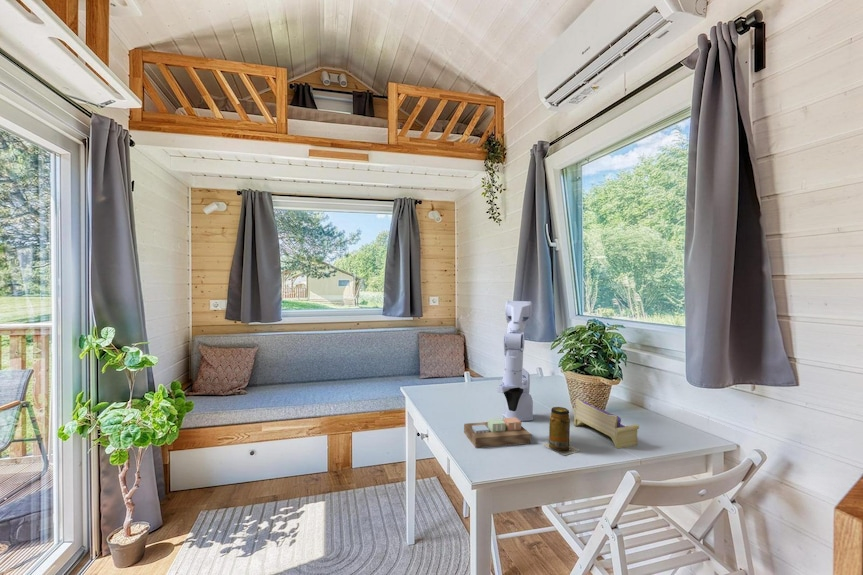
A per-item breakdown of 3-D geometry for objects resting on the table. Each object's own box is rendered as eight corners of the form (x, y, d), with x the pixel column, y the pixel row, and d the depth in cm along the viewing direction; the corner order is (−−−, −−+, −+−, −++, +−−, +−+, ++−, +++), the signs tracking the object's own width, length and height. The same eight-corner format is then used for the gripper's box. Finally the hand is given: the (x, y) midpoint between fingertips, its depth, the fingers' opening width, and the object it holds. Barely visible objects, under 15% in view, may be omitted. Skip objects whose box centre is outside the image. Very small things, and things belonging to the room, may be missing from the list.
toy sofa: (639, 446, 126) (640, 414, 126) (618, 450, 123) (619, 417, 123) (591, 422, 146) (592, 395, 146) (572, 425, 143) (573, 397, 143)
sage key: (500, 428, 133) (500, 418, 133) (505, 433, 129) (505, 423, 129) (487, 429, 132) (487, 419, 132) (492, 434, 128) (492, 424, 128)
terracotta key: (515, 427, 135) (515, 417, 134) (521, 432, 130) (521, 422, 130) (503, 428, 134) (503, 418, 133) (508, 433, 129) (508, 423, 129)
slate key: (484, 434, 132) (484, 424, 132) (489, 440, 128) (489, 429, 128) (471, 435, 131) (471, 425, 131) (476, 441, 127) (476, 430, 127)
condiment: (558, 440, 129) (559, 404, 129) (580, 450, 122) (581, 412, 122) (542, 445, 125) (543, 407, 125) (564, 456, 118) (565, 416, 118)
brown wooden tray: (514, 428, 139) (514, 420, 139) (530, 443, 127) (530, 433, 127) (463, 432, 135) (464, 423, 135) (475, 447, 123) (475, 438, 123)
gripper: (515, 364, 139) (514, 402, 140) (490, 370, 129) (489, 412, 129) (533, 367, 134) (532, 407, 135) (508, 374, 124) (507, 417, 124)
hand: (512, 410), depth 132 cm, fingers closed
